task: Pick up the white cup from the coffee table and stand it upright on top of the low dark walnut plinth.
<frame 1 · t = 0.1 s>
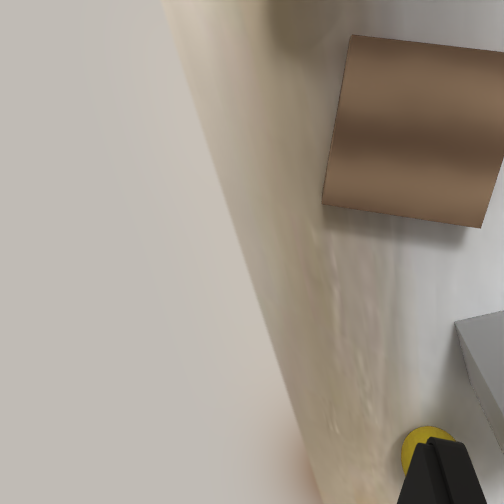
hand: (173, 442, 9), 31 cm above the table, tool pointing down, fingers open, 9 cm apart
lemon: (424, 430, 45), on the table
walnut plinth: (412, 131, 35), on the table
perfume bottle: (501, 343, 41), on the table
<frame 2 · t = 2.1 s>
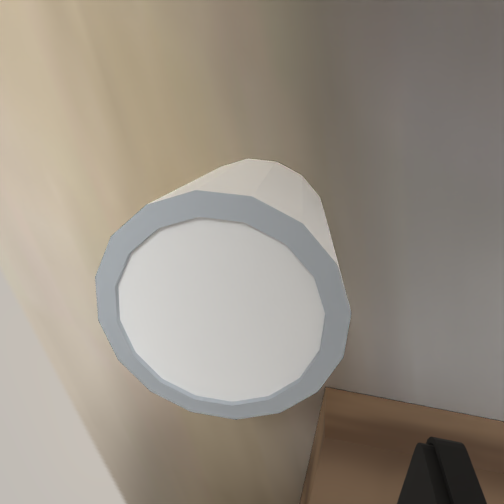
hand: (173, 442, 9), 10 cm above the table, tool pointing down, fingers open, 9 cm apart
white cup: (257, 226, 18), on the table
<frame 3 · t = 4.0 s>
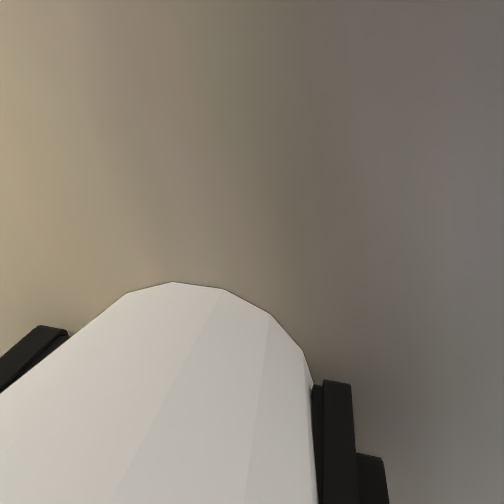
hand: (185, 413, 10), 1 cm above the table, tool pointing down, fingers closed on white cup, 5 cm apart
white cup: (195, 387, 11), on the table, touching gripper
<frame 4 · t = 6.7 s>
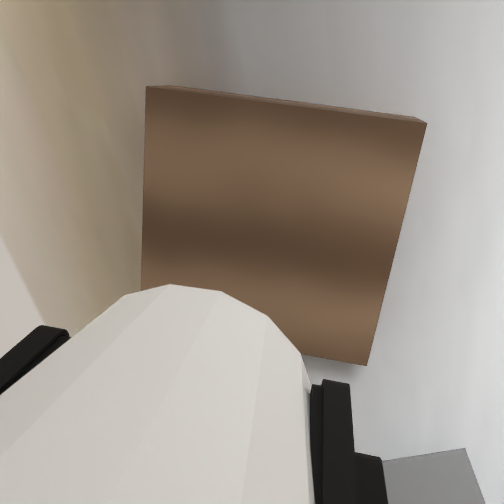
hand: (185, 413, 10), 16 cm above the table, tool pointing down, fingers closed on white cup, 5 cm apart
white cup: (193, 389, 11), point 15 cm above the table, touching gripper
walnut plinth: (271, 218, 24), on the table
perfume bottle: (420, 494, 30), on the table
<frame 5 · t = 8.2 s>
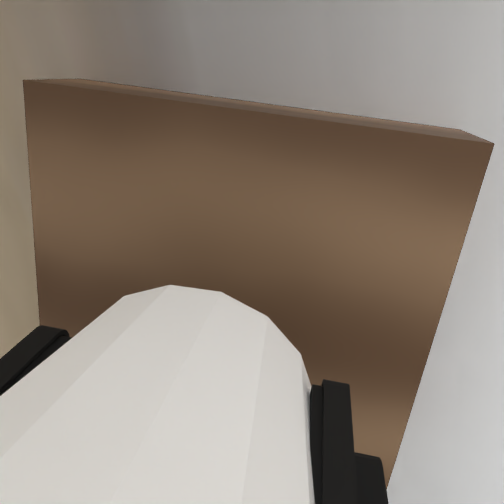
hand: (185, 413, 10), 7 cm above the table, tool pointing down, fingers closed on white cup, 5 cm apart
white cup: (193, 390, 11), point 6 cm above the table, touching gripper
walnut plinth: (241, 276, 16), on the table
when the fingers open (5 cm above the table, at t = 9.5 s): white cup drops 1 cm, resting on walnut plinth.
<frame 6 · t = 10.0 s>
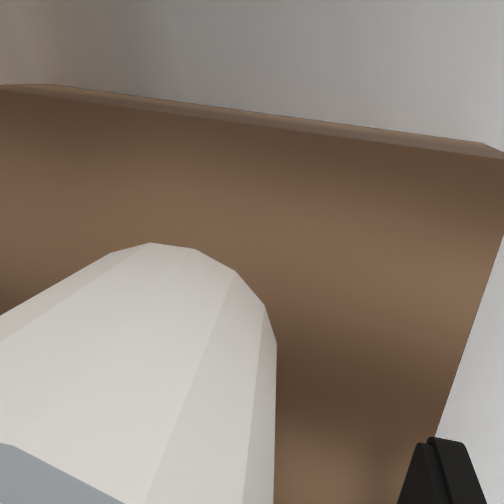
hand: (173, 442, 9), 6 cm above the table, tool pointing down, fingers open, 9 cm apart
white cup: (172, 340, 12), point 3 cm above the table, touching walnut plinth
walnut plinth: (231, 305, 15), on the table
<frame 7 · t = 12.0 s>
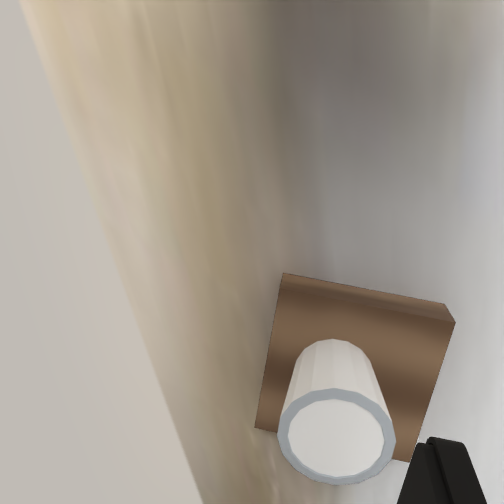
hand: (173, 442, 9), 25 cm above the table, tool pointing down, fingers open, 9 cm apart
white cup: (333, 371, 33), point 3 cm above the table, touching walnut plinth
walnut plinth: (345, 357, 36), on the table
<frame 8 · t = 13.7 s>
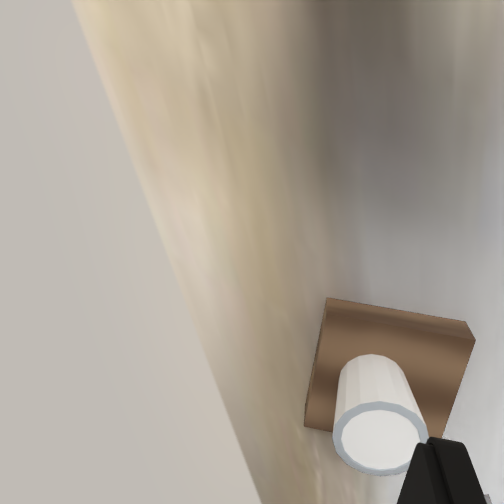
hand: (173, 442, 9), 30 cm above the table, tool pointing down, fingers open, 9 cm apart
white cup: (371, 380, 40), point 3 cm above the table, touching walnut plinth
walnut plinth: (380, 366, 42), on the table
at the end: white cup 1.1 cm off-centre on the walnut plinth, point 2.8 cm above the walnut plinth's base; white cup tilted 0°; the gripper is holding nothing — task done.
